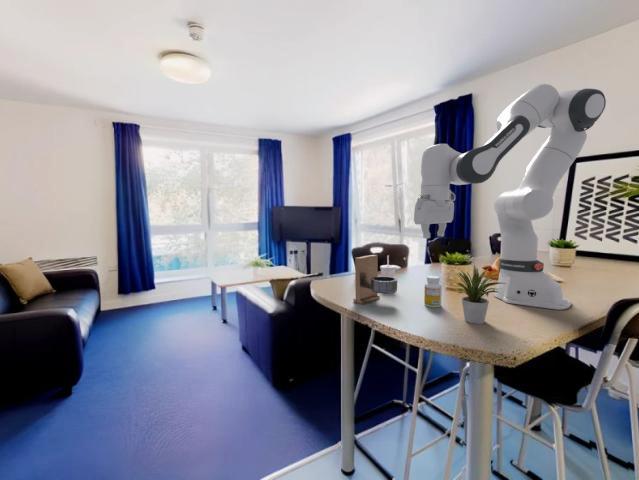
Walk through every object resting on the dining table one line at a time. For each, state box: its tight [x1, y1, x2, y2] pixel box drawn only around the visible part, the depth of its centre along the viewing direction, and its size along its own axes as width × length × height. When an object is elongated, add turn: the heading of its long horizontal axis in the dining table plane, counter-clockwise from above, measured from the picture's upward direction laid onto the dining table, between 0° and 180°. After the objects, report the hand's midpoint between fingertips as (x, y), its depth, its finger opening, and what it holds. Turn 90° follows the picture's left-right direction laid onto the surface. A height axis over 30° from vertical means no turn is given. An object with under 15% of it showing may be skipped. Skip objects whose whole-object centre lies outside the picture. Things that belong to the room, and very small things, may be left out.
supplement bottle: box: [424, 275, 443, 308], centre depth 108 cm, size 5×5×10 cm
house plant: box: [455, 264, 505, 325], centre depth 91 cm, size 14×14×16 cm
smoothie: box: [379, 255, 397, 278], centre depth 129 cm, size 6×6×14 cm
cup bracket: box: [352, 254, 398, 305], centre depth 111 cm, size 14×10×16 cm
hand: (433, 237), depth 106 cm, fingers open, 8 cm apart
